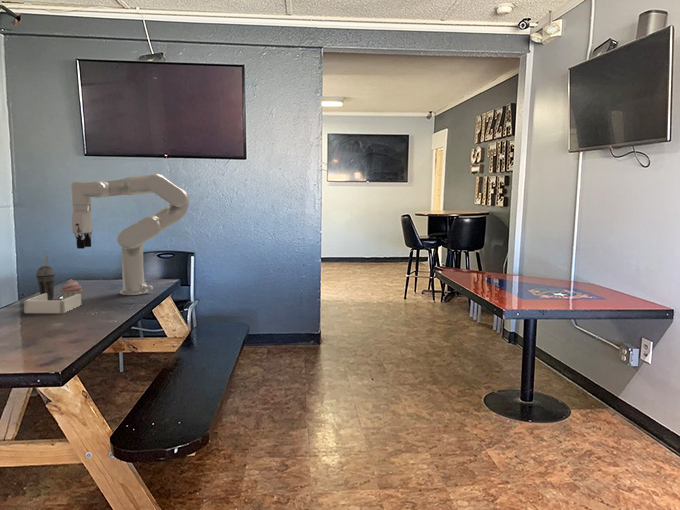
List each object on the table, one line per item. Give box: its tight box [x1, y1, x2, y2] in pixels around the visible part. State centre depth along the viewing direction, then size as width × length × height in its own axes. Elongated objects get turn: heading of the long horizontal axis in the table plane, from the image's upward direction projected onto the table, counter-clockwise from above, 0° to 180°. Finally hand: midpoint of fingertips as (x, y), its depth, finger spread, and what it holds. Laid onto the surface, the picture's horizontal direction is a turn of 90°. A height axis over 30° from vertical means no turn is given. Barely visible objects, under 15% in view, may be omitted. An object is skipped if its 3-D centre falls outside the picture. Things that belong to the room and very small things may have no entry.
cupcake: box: [59, 278, 84, 300], centre depth 217 cm, size 9×9×10 cm
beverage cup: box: [35, 255, 56, 300], centre depth 216 cm, size 7×7×20 cm
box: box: [23, 293, 82, 314], centre depth 203 cm, size 15×14×5 cm
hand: (84, 247), depth 227 cm, fingers open, 5 cm apart
